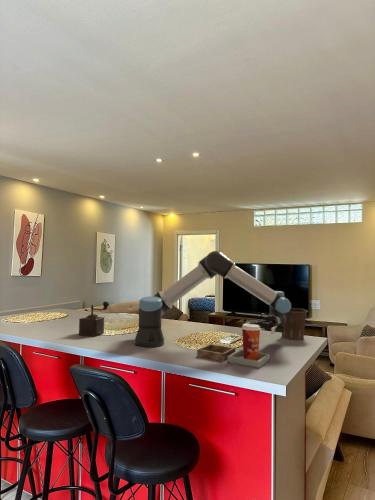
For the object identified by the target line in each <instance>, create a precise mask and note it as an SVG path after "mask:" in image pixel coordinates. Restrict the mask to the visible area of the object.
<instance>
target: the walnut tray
mask: <svg viewBox="0 0 375 500" xmlns="http://www.w3.org/2000/svg"><path fill="white" fill-rule="evenodd" d="M211 350H212V351H211ZM196 351H197V352H196V353H197V355H196V356H197V357H198V358H199V357H200V358H204V359H208V360H209V359H210V360H216V361H221V362H224V361H226V360H227V361H228V356H229V355H231V354H233V353H234V352H236V347H234V346H233V347H232V346H225V345H218V344H213V343H209V344H207V345H205V346H202V347H200V348H198V349H197V350H196ZM214 351H215V352H214Z"/></svg>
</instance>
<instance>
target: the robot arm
mask: <svg viewBox="0 0 375 500" xmlns="http://www.w3.org/2000/svg"><path fill="white" fill-rule="evenodd" d="M216 276H220V277H221V278H222V279H223V278H224V279H228V280H230V281H232V282H233V283H235V284H236V285H237V286H239V287H240V288H242V289H244V290H245V291H247V292H248V293H250V294H251V295H253V296H255V297H256V298H258V299H259V300H261V301H262V302H263V303H265V304H267V305H268V306H269V314H268V315H267V316H265V317H264V318H263V319H262V320H257V319H255V320H246V321H245V320H244V321H243V322H242V326H243V325H244V324H255V325H259V326H260V328H261V329H264V330H265V331H267V332H271V335H275V334H276V333H280V332H281V333H282V332H284V326H283V324H284V323H285V321H286V319H285V316H284V313H287V312H288V311H289V310H290V309H291V308H292V303H291V302H290V300H289V299H288V298H287V297H285V292H284V291H279V290H274V289H272V288H270V287H269V286H268V285H266V284H264V283H263V282H261V281H260V280H258V279H257V278H256V277H254V276H252V275H251V274H249V273H248V272H246V271H244V270H243V269H241V268H240V267H238V266H237V265H236V263H235V261H233V260H232V259H230V258H229V257H228V256H227V255H226V254H224V253H223V252H222V251H220V250H219V251H218V250H214V251H210V252H209V253H208V254H207V255H206V256H204V257H203V258H202V259H201V260H199V261H198V265H197V266H195V268H193V269H192V270H190V271H189V272H188V273H186V274H185V275H184V276H182V277H181V278H180V279H178V280H177V281H176V282H174V283H173V284H171V286H169V287H168V288H167V289H165V290H164V291H158V292H156V293H155V294H154V295H152V296H151V295H149V296H144V297H141V298H140V299H139V300H138V301H139V303H138V329H137V332H136V336H135V338H134V345H135V346H139V347H145V348H147V347H148V348H154V347H155V348H156V347H161V346H163V345H165V337H164V333H163V330H162V317H163V315H165V314H166V313H167V312H169V311H170V310H172V308H173V305H174V304H175V303H176V302H178V301H179V300H180V299H182V298H183V297H184V296H186V295H187V294H188V293H190V292H191V291H193V290H194V289H195V288H196V287H198V286H199V285H200V284H202V283H203V282H205V281H206V280H207V279H210V280H212V279H213V278H214V277H216Z"/></svg>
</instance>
